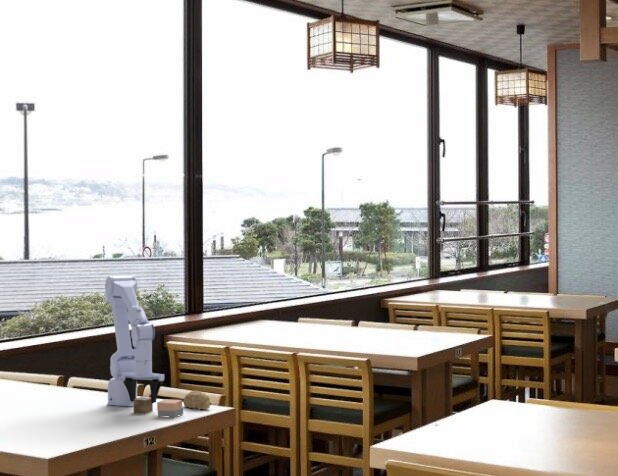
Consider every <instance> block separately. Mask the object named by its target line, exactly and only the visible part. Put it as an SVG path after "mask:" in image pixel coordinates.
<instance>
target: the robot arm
mask: <svg viewBox="0 0 618 476" xmlns="http://www.w3.org/2000/svg"><path fill="white" fill-rule="evenodd" d="M104 283H105V284H104V289H105V290H104V291H105V297H106V301H107V302H108V303H110V304H111V305H110V306H111V311H112V318H113V326H114V331H115V332H114V333H115V341H116V348H117V350H116V351H115V352H114V353H112V355H111V356H110V366H109V369H110V375H111V376H112V378H110V379H109V381H108V383H107V403H106V405H107V406H118V407H119V406H120V407H134V399H136V398H138V380H140V381H141V380H143V381H148V384H149V389H150V398H151V403H153V404H154V403H157V399H158V395H159V391H160V389H161V387H162V385H163V383H164V381H165V374H164V373H163V374H162V373H155V372H153V341H154V339H155V335H156V333H155V332H156V330H155V327H154V324H153V323H152V322H151V321H149V320H148V318H147V315H146V313H145V310H144V308H143V307H141V306H139V302H138V298H137V295H136V293H137V289H138V279H137V277H136V276H135V275H132V274H131V275H113V276H112V275H108V276H107V277H106V278H105V282H104ZM130 327H131V331H130ZM131 339H132V340H131ZM132 346H133V348H132Z"/></svg>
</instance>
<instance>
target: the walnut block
mask: <svg viewBox="0 0 618 476" xmlns="http://www.w3.org/2000/svg"><path fill="white" fill-rule="evenodd" d="M153 404H154V403H151V397H143V396H140V397H137V398H136V399H134V406H133V413H134V414H141V413H143V414H144V415H146V413H147V414H149V413H152V412H153V409H154V407H153V406H154V405H153ZM151 411H152V412H151Z"/></svg>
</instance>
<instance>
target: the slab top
mask: <svg viewBox="0 0 618 476" xmlns="http://www.w3.org/2000/svg"><path fill="white" fill-rule="evenodd" d="M180 408H183V399H171V398H170V399H168V398H167V399H166V398H164V399H162V400H160V401H156V411H158V410H160V411H176V410H178V409H180Z"/></svg>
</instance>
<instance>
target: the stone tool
mask: <svg viewBox="0 0 618 476" xmlns="http://www.w3.org/2000/svg"><path fill="white" fill-rule="evenodd" d="M182 404H183V406H185V407H189V408H188V409H197V408H198V409H203V410H206V409H207V410H208V409H210V406H211V401H210V397H209V395H207V394H206V393H204V392H202V391H200V390H192V391H190V392H188V393H187V394H185V396H184V397H183V398H182ZM185 407H184V408H185Z"/></svg>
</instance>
